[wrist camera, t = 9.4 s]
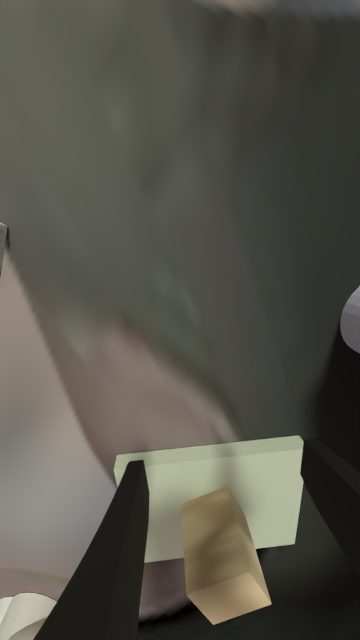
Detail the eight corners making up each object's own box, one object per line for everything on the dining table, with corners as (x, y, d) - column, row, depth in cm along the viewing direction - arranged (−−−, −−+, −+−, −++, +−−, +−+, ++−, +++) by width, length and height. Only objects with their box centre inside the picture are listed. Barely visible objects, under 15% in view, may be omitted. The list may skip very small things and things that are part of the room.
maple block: (227, 485, 21) (249, 571, 16) (245, 515, 23) (271, 604, 17) (180, 504, 22) (186, 595, 16) (201, 532, 23) (213, 624, 17)
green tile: (298, 435, 22) (308, 448, 20) (287, 527, 26) (294, 543, 25) (117, 454, 21) (113, 469, 20) (136, 546, 26) (134, 563, 24)
